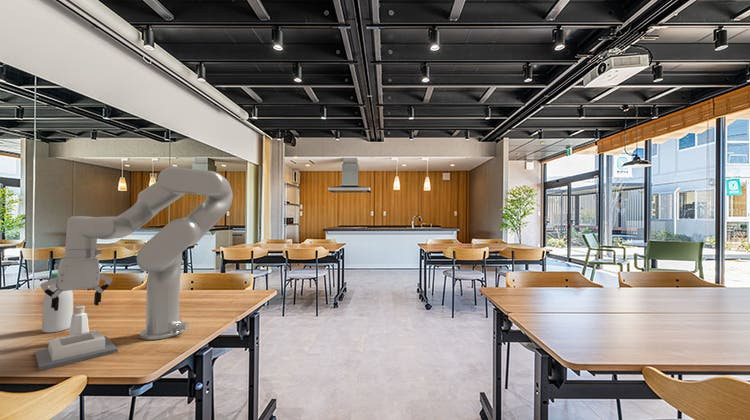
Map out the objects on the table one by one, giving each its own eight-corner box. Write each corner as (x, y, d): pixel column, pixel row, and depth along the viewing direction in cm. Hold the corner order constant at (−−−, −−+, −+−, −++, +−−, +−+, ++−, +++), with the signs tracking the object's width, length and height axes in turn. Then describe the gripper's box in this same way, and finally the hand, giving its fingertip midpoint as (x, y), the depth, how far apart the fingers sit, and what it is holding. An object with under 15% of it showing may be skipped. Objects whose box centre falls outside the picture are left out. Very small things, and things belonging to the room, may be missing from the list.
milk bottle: (77, 327, 117) (79, 271, 118) (50, 334, 110) (52, 275, 110) (64, 325, 119) (66, 270, 120) (36, 331, 112) (38, 274, 113)
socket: (106, 338, 106) (106, 326, 106) (117, 351, 95) (118, 338, 95) (35, 354, 93) (35, 340, 94) (39, 370, 83) (40, 355, 83)
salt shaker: (74, 338, 106) (75, 304, 107) (93, 336, 107) (94, 303, 108) (62, 344, 101) (63, 308, 101) (83, 342, 102) (84, 307, 103)
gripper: (111, 252, 114) (108, 301, 113) (41, 254, 101) (37, 309, 100) (116, 253, 109) (113, 305, 108) (43, 256, 96) (39, 314, 95)
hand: (76, 307), depth 104 cm, fingers open, 9 cm apart
